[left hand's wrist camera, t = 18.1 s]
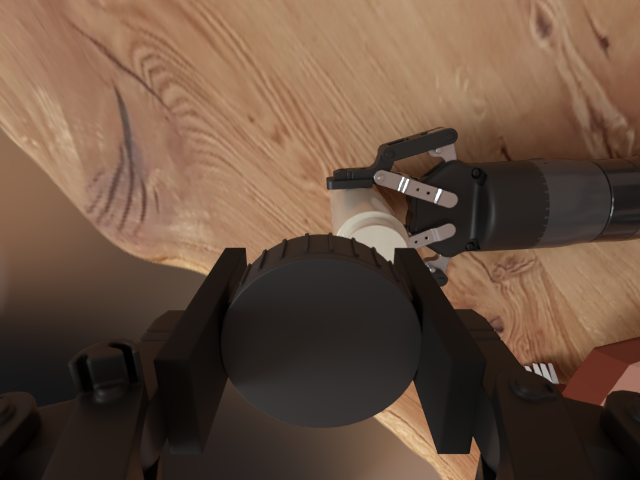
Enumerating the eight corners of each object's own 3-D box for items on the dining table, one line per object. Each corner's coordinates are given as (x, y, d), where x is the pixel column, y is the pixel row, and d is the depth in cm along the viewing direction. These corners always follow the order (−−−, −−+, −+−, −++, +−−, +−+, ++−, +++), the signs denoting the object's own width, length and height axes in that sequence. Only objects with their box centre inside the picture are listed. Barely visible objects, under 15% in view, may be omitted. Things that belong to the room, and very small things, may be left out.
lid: (440, 264, 12) (462, 294, 10) (370, 404, 13) (377, 449, 12) (260, 205, 11) (249, 225, 9) (213, 360, 13) (196, 402, 11)
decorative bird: (604, 510, 48) (656, 647, 35) (466, 434, 53) (464, 528, 40) (753, 331, 39) (903, 423, 26) (570, 259, 44) (614, 304, 31)
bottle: (326, 217, 39) (330, 289, 24) (331, 169, 37) (340, 214, 22) (373, 222, 39) (407, 296, 24) (380, 175, 37) (422, 222, 22)
